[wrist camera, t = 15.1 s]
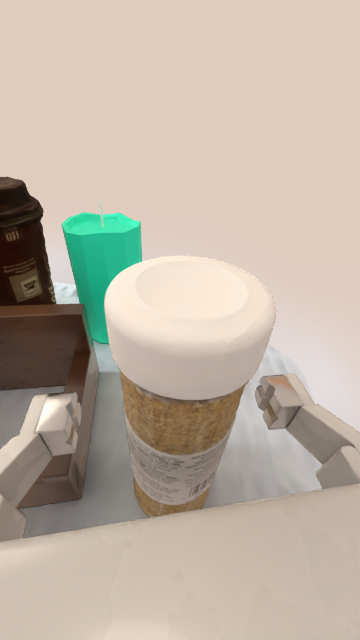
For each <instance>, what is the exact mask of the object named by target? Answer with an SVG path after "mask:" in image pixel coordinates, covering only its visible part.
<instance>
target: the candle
mask: <svg viewBox="0 0 360 640" xmlns="http://www.w3.org/2000/svg"><path fill="white" fill-rule="evenodd" d="M99 208H100V215H99V214H92V213H81V214H78V215H75V216H72V217H69V218H68V219H67V220H66V221H65V222H63V223H62V228H63V232H64V237H65V241H66V245H67V250H68V254H69V258H70V262H71V267H72V271H73V276H74V280H75V284H76V289H77V293H78V297H79V302H80V304H85V307H86V312H87V317H88V321H89V326H90V331H91V335H92V339H94V340H96V341H98V342H100V343H107V344H109V338H108V331H107V324H106V316H105V308H104V300H105V294H106V291H107V289H108V287H109V285H110V283H111V282H112V280H113V279H114V278H115V277H116V276H117V275H118V274H119V273H121V272H122V271H123V270H125V269H127V268H129V267H130V266H132V265H134V264H137V263H139V262H142V249H141V222H139V221H134V220H132V219H130V218H128V217H126V216H124V215H122V214H121V213H115V214H106V215H102V208H101V201H100V200H99Z"/></svg>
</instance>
